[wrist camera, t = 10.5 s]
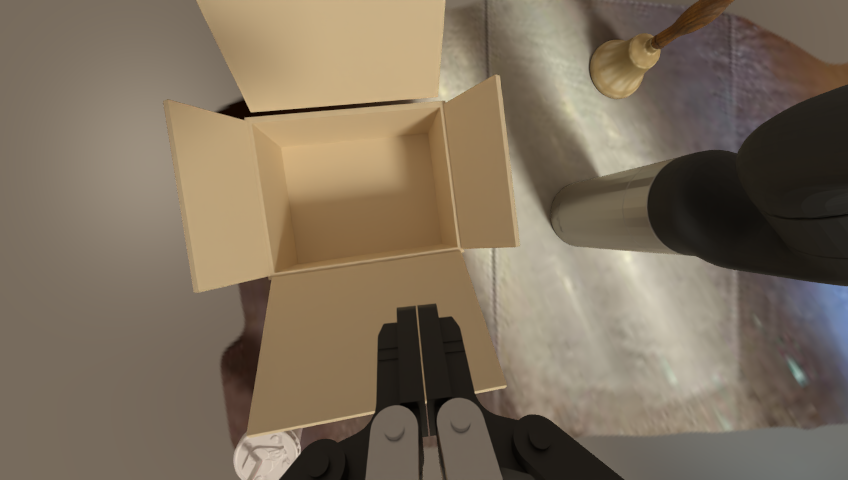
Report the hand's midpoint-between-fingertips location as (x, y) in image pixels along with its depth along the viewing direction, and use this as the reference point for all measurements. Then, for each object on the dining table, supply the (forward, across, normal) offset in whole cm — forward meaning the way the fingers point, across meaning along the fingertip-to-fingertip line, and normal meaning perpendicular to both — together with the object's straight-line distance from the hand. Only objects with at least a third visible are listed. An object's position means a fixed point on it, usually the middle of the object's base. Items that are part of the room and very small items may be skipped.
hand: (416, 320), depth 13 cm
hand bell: (+42, -32, 0) cm, 53 cm away
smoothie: (+15, +17, +33) cm, 40 cm away
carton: (+28, +5, +15) cm, 32 cm away
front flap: (+24, +5, -8) cm, 26 cm away
